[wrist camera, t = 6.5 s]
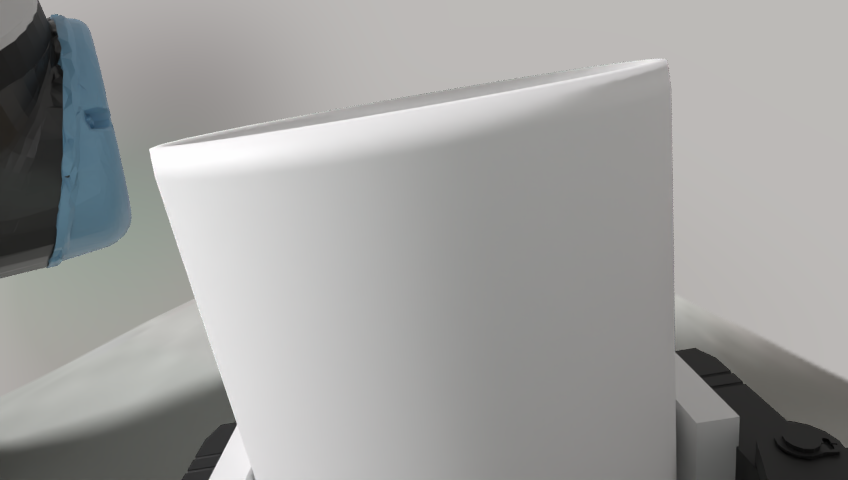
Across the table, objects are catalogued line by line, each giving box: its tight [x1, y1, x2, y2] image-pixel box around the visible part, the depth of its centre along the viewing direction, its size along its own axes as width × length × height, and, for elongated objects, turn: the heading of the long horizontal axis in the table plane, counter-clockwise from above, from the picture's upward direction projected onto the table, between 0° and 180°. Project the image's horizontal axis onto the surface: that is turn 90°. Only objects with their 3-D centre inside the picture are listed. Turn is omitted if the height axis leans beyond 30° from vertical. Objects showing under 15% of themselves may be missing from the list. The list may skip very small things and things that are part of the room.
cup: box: [149, 59, 677, 480], centre depth 11 cm, size 8×8×16 cm
